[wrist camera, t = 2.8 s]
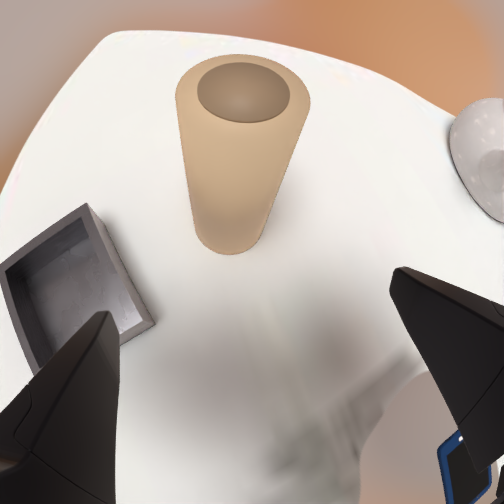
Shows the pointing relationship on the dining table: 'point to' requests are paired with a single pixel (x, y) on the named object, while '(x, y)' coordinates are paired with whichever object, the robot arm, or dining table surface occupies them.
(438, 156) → the dining table surface
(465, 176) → the teapot
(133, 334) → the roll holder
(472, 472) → the cell phone
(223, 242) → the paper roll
